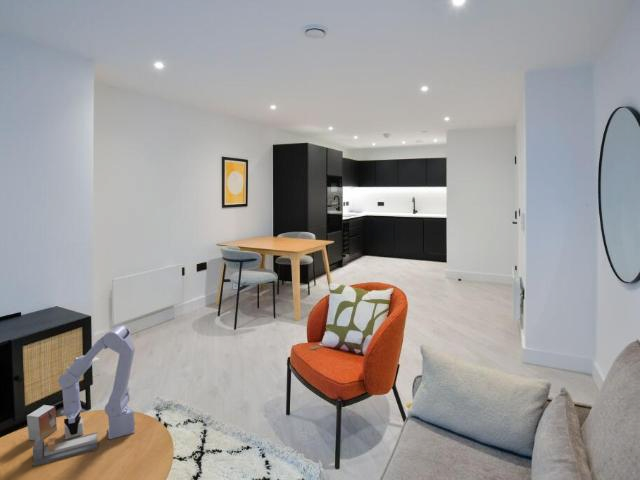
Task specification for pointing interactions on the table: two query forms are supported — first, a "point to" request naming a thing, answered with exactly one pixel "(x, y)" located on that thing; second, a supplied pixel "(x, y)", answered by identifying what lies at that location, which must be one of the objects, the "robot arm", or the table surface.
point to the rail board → (63, 449)
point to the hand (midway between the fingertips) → (74, 430)
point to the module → (79, 432)
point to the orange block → (52, 444)
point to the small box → (41, 422)
